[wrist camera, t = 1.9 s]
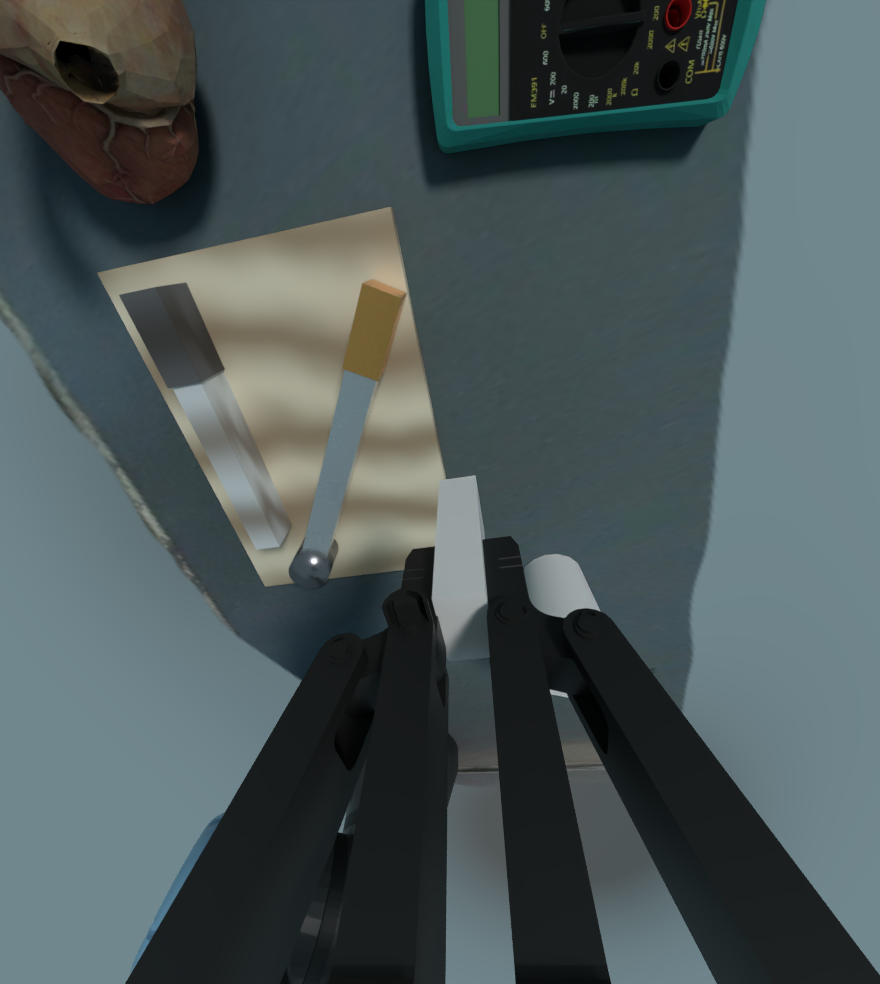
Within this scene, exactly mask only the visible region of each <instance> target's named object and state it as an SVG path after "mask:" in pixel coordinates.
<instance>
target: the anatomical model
mask: <svg viewBox="0 0 880 984" xmlns="http://www.w3.org/2000/svg"><path fill="white" fill-rule="evenodd" d="M196 75H197V57H196V48H195V39H194V32H193V29H192V26H191V23H190V21H189V18H188V15H187V12H186V9H185V6H184V3H183V0H0V89H1V91H2V92H3V93H4V94H5V96H6V97H7V98H8V100H9V101H10V103H11V105H12V106H13V108H14V109H15V110H16V111H17V112H18V113H19V114H20V115H21V116H22V118H23V120H24V122H25V124H27V125H28V126H30V127H31V128H33V129H34V130H35V131H36V132H37V133H38V134H39V135H40V136H41V137H42V138H43V139H44V140H45V141H46V142H47V143H48V144H49V145H50V146H51V148H52V149H53V150H54V151H55V152H56V153H57V154H58V155H59V156H60V157H61V158H62V159H63V160H64V161H65V162H66V163H67V164H68V165H69V166H70V167H71V168H72V169H73V170H74V171H75V172H76V173H77V174H78V175H79V176H81V177H82V178H83V179H84V180H85V181H86V182H87V183H89V184H90V185H91V186H92V187H93V188H94V189H95V190H97V191H98V192H99V193H100V194H102V195H105V196H107V197H109V198H111V199H113V200H119V201H126V202H132V203H139V204H154V203H156V202H158V201H160V200H161V199H163V198H165V197H166V196H168V195H170V194H172V193H173V192H174V191H176V190H177V189H178V188H180V187H181V186H182V185H183V184H185V183H186V182H187V181H188V180H189V179H190V176H191V174H192V172H193V169H194V167H195V165H196V161H197V157H198V153H199V146H198V132H197V125H196V120H195V107H194V100H193V99H194V98H195V87H196Z"/></svg>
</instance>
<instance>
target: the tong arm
mask: <svg viewBox="0 0 880 984" xmlns="http://www.w3.org/2000/svg"><path fill="white" fill-rule="evenodd" d="M406 295H407V293H406V292H404V291H401V290H399V289H396V288H393V287H391V286H388V285H386V284H383V283H381V282H378V281H376V280H373V279H370V280H368V281H366V282H363V283H362V286H361V290H360V295H359V299H358V303H357V307H356V312H355V316H354V320H353V325H352V329H351V333H350V338H349V342H348V346H347V350H346V355H345V359H344V363H343V368H342V369H344V370H345V371H344V375H343V380H342V384H341V388H340V392H339V397H338V401H337V405H336V409H335V414H334V418H333V422H332V426H331V430H330V435H329V439H328V443H327V447H326V452H325V456H324V460H323V464H322V469H321V473H320V477H319V481H318V485H317V490H316V494H315V498H314V502H313V507H312V511H311V515H310V519H309V524H308V528H307V532H306V536H305V537H304V539H303V541H302V543H301V545H300V547H299V549H298V551H297V553H296V555H295V557H294V559H293V561H292V563H291V565H290V567H289V570H288V571H289V576H290V578H291V579H292V580H293V582H295V583H296V584H297V585H299V586H301V587H304V588H308V589H316V588H320V587H322V586H323V585H325V584H326V582H327V580H328V578H329V575H330V572H331V570H332V567H333V564H334V562H335V559H336V556H337V553H338V550H339V547H338V543H337V542H336V540H335V536H336V533H337V529H338V525H339V522H340V518H341V515H342V511H343V508H344V504H345V501H346V497H347V494H348V490H349V487H350V483H351V480H352V476H353V473H354V469H355V466H356V462H357V459H358V455H359V452H360V448H361V445H362V441H363V437H364V434H365V430H366V427H367V423H368V420H369V416H370V413H371V409H372V406H373V402H374V399H375V395H376V392H377V388H378V385H379V381H380V378H381V376H382V374H383V372H384V370H385V368H386V365H387V361H388V358H389V354H390V351H391V347H392V344H393V340H394V337H395V333H396V330H397V326H398V323H399V319H400V316H401V313H402V309H403V306H404V302H405V299H406Z"/></svg>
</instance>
